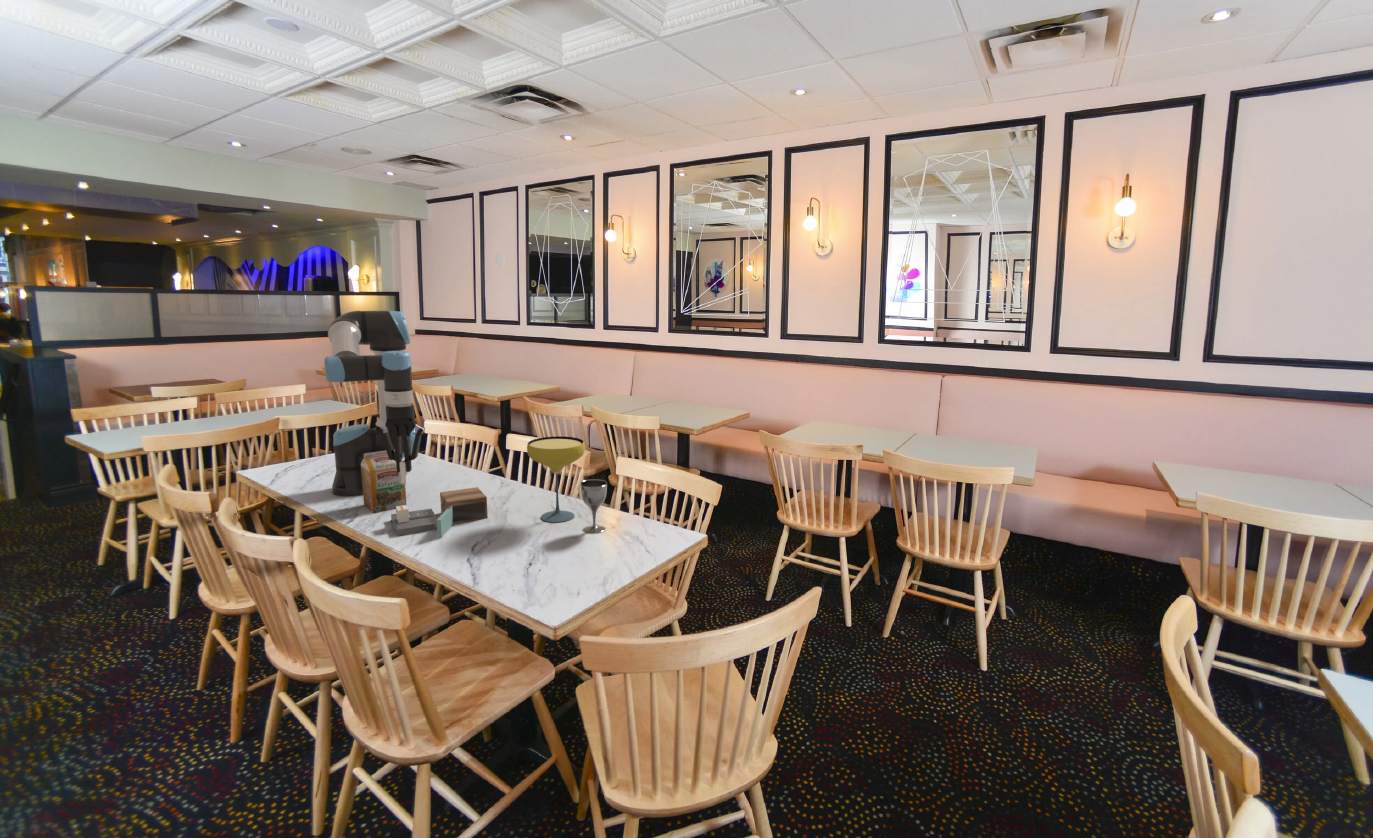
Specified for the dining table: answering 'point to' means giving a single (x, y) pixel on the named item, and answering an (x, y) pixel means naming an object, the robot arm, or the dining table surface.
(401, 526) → the mixer strip
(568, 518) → the cocktail glass
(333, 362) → the robot arm
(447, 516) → the rack door
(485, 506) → the box
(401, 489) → the milk carton
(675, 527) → the dining table surface
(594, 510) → the wine glass
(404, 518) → the fader knob
